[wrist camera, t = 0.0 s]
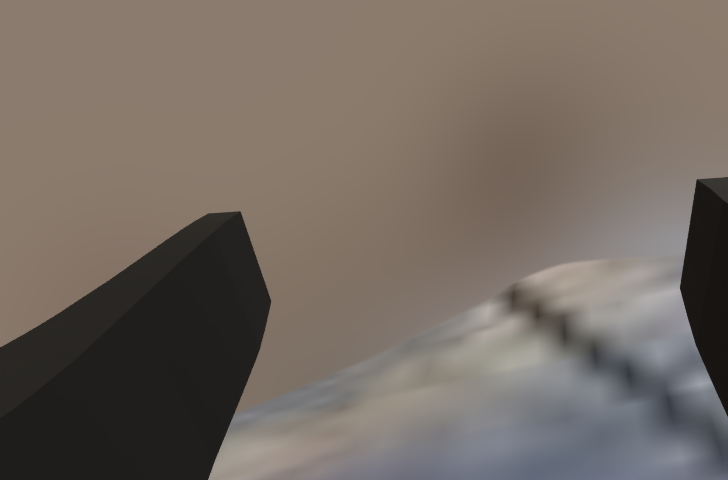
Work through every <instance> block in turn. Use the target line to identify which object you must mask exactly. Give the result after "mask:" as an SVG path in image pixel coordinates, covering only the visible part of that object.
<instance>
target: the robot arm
mask: <svg viewBox="0 0 728 480" xmlns="http://www.w3.org/2000/svg"><path fill="white" fill-rule="evenodd" d="M680 290H681V294H682V298H683V301H684V305H685V309H686V313H687V316H688V320H689V323H690V327H691V330H692V333H693V337H694V340H695V343H696V346H697V349H698V351H699V353H700V356H701V358H702V360H703V362H704V365H705V367H706V369H707V372H708V374H709V376H710V378H711V381H712V383H713V385H714V387H715V390H716V392H717V394H718V396H719V398H720V401H721V403H722V405H723V407H724V409H725V412H726V414H727V416H728V177H725V178H711V179H697V182H696V188H695V195H694V201H693V207H692V214H691V220H690V227H689V233H688V239H687V246H686V252H685V259H684V265H683V271H682V278H681V284H680ZM270 305H271V299H270V296H269V293H268V290H267V288H266V285H265V282H264V279H263V276H262V273H261V270H260V267H259V264H258V261H257V258H256V255H255V252H254V250H253V247H252V244H251V241H250V238H249V235H248V232H247V229H246V226H245V223H244V220H243V217H242V215H241V212H240V211H239V212H225V213H210V214H207V215H205V216H203V217H201V218H200V219H198V220H196V221H194V222H193V223H191V224H190V225H188V226H187V227H185V228H184V229H182V230H180V231H179V232H178V233H176V234H175V235H173V236H172V237H170V238H169V239H167V240H166V241H164V242H163V243H162V244H160V245H159V246H157V247H156V248H155V249H153V250H152V251H151V252H149V253H147V254H146V255H145V256H143V257H142V258H140V259H139V260H137V261H136V262H135V263H133V264H132V265H130V266H129V267H127V268H126V269H125V270H123V271H122V272H120V273H119V274H117V275H116V276H115V277H113V278H112V279H110V280H109V281H107V282H106V283H104V284H103V285H101V286H100V287H98V288H97V289H95V290H94V291H92V292H91V293H89V294H87V295H86V296H84V297H83V298H81V299H80V300H78V301H77V302H75V303H74V304H72V305H71V306H69V307H68V308H66V309H65V310H63V311H62V312H60V313H59V314H57V315H55V316H54V317H52V318H51V319H49V320H47V321H46V322H44V323H42V324H41V325H39V326H38V327H36V328H34V329H32V330H31V331H29V332H27V333H26V334H24V335H22V336H20V337H18V338H17V339H15V340H13V341H11V342H9V343H8V344H6V345H4V346H2V347H0V480H208V478H209V475H210V473H211V470H212V467H213V464H214V462H215V459H216V457H217V454H218V452H219V449H220V447H221V445H222V442H223V440H224V437H225V435H226V432H227V430H228V427H229V425H230V423H231V420H232V418H233V415H234V413H235V410H236V408H237V405H238V403H239V401H240V398H241V396H242V393H243V391H244V388H245V386H246V383H247V381H248V378H249V375H250V373H251V371H252V368H253V366H254V363H255V361H256V358H257V355H258V352H259V350H260V346H261V342H262V338H263V335H264V331H265V327H266V323H267V317H268V314H269V309H270Z"/></svg>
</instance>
